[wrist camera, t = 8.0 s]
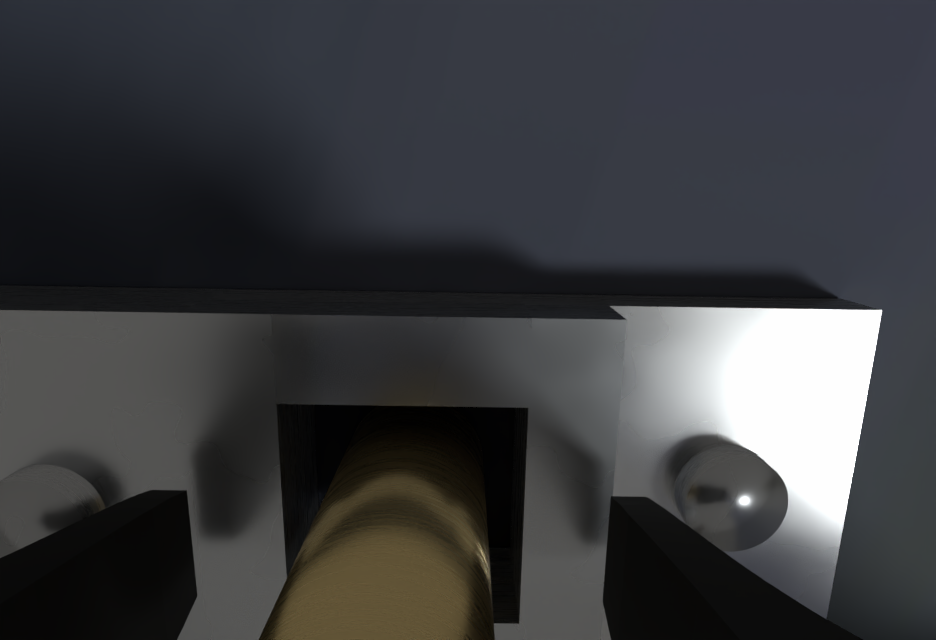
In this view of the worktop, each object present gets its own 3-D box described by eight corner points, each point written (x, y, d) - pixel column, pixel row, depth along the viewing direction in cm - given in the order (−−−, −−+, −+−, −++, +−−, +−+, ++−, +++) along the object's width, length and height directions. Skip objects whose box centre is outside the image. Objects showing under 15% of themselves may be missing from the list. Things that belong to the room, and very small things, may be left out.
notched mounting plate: (841, 298, 12) (963, 333, 9) (790, 610, 14) (879, 724, 11) (-18, 284, 12) (-177, 315, 9) (36, 601, 14) (-82, 714, 11)
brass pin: (484, 396, 12) (507, 645, 6) (481, 519, 13) (498, 876, 6) (347, 394, 12) (202, 642, 6) (351, 517, 13) (225, 873, 6)
